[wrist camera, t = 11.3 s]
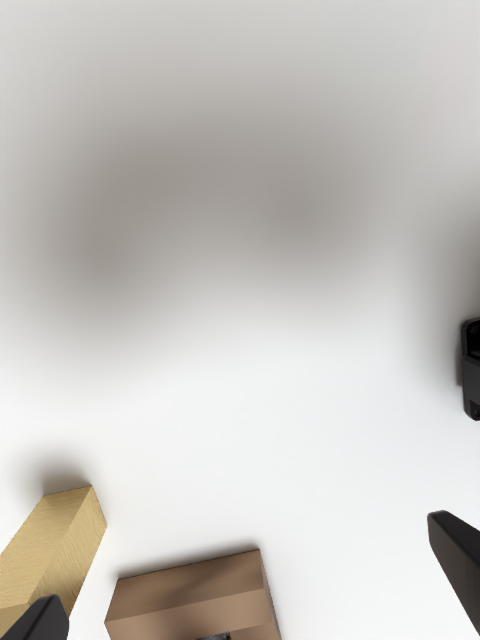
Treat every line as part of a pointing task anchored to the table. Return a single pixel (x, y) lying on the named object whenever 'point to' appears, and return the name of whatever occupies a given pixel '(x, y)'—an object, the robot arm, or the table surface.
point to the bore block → (196, 602)
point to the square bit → (50, 553)
